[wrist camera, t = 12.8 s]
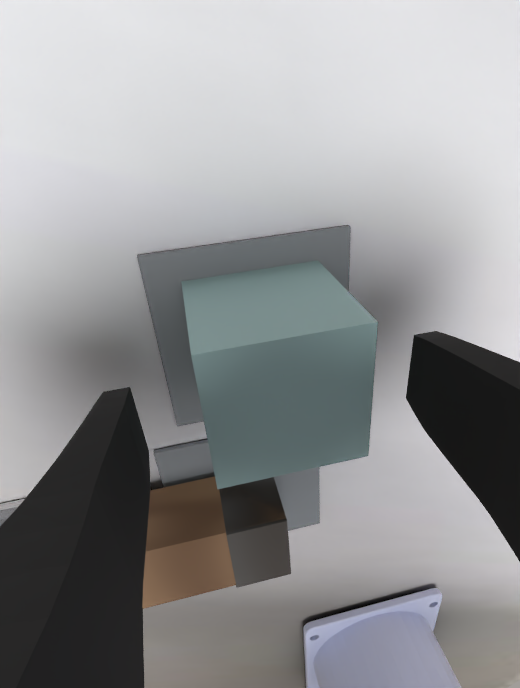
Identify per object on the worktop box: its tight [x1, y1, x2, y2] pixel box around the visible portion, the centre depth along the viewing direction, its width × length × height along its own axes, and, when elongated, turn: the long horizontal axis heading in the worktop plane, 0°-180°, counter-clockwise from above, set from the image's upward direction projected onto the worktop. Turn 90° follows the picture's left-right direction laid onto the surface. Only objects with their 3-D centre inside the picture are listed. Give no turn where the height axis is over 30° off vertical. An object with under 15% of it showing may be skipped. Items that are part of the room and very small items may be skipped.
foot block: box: [181, 260, 378, 490], centre depth 12 cm, size 4×4×4 cm
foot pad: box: [154, 439, 320, 531], centre depth 17 cm, size 6×6×1 cm
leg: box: [142, 476, 291, 609], centre depth 14 cm, size 12×3×4 cm, turn 95°
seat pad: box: [137, 225, 350, 426], centre depth 13 cm, size 6×6×1 cm
